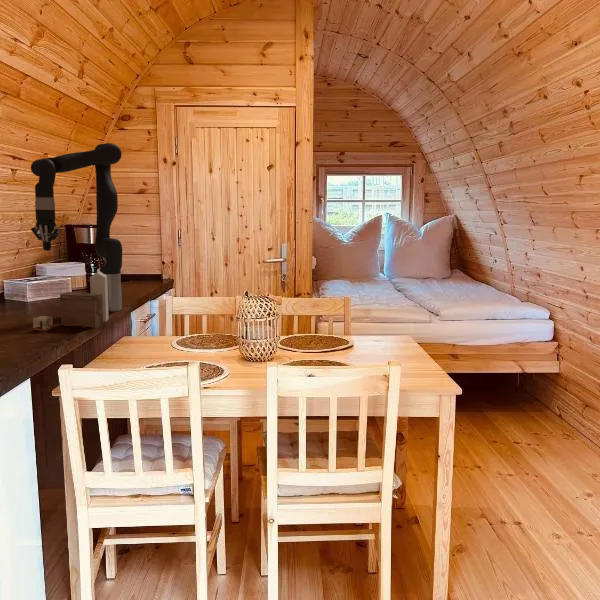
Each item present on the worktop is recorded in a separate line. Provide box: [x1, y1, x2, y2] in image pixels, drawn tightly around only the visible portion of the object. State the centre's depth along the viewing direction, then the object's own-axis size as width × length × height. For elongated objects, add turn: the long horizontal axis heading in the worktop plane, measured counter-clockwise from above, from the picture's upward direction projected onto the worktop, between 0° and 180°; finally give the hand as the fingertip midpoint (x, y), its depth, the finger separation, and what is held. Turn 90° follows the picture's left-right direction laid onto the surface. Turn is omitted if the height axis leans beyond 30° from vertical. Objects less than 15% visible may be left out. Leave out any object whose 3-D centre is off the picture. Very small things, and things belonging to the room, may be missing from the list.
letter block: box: [32, 315, 54, 329], centre depth 229 cm, size 5×5×5 cm
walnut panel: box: [59, 291, 104, 329], centre depth 239 cm, size 6×15×13 cm, turn 79°
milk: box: [89, 267, 109, 323], centre depth 248 cm, size 6×6×22 cm
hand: (47, 250), depth 248 cm, fingers closed
